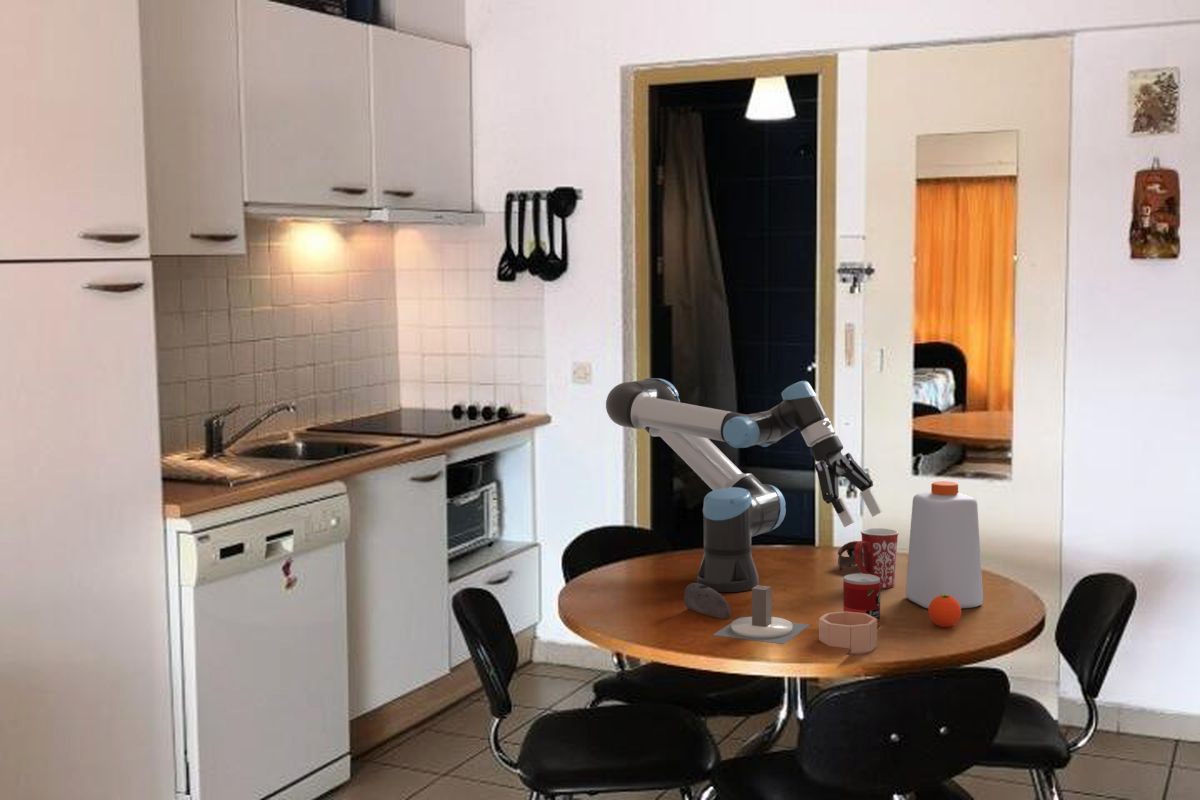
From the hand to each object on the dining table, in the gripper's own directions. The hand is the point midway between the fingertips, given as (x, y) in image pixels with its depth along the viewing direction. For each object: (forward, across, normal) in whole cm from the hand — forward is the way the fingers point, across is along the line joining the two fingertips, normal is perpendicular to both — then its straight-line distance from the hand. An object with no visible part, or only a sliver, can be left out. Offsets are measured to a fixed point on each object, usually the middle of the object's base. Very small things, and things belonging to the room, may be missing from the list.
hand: (863, 519), depth 329 cm
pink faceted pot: (+25, -44, -9) cm, 51 cm away
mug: (+15, +5, +9) cm, 18 cm away
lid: (+14, -48, +6) cm, 50 cm away
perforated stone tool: (+6, -42, +22) cm, 48 cm away
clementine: (+30, -18, -16) cm, 38 cm away
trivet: (+15, -48, +7) cm, 51 cm away
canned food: (+22, -29, -4) cm, 37 cm away
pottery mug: (+9, +20, +20) cm, 30 cm away
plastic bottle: (+26, +1, -8) cm, 27 cm away
